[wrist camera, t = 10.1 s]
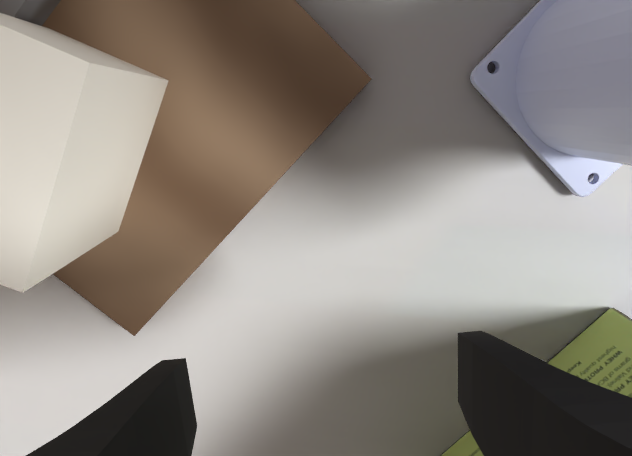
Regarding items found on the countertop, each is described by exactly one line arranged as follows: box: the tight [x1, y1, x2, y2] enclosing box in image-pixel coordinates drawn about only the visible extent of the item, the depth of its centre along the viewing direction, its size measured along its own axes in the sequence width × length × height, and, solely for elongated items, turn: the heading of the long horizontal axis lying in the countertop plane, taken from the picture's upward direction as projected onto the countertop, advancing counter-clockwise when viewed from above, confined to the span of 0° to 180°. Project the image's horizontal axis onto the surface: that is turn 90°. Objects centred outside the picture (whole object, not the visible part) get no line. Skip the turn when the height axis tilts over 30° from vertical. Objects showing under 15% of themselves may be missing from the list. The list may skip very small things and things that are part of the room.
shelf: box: [0, 0, 371, 336], centre depth 19 cm, size 16×12×3 cm
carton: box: [0, 13, 169, 293], centre depth 16 cm, size 5×7×7 cm
